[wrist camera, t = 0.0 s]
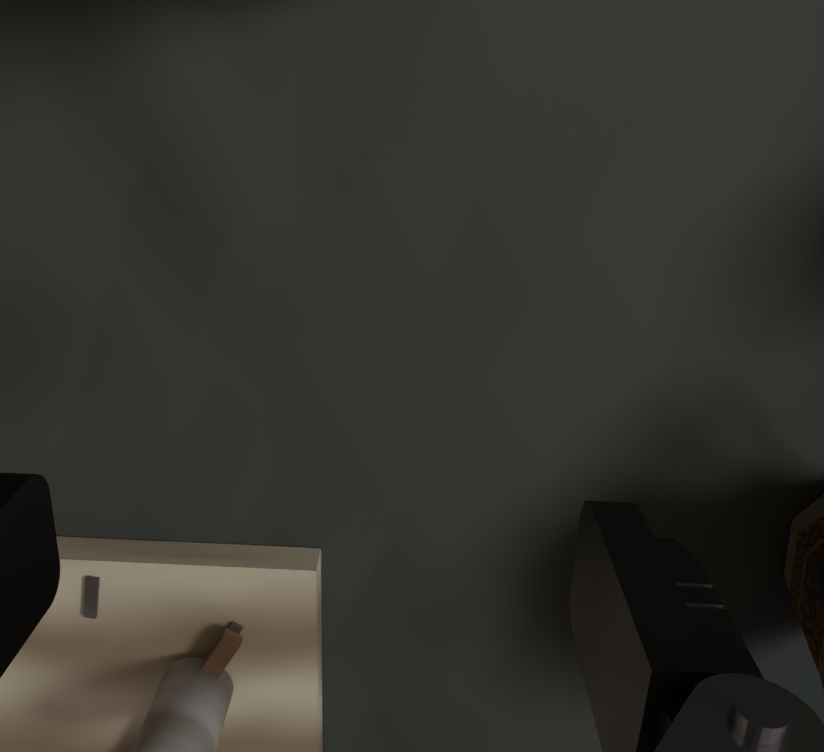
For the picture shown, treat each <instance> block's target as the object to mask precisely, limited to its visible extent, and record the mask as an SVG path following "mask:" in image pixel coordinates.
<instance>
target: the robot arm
mask: <svg viewBox="0 0 824 752" xmlns="http://www.w3.org/2000/svg"><path fill="white" fill-rule="evenodd" d="M59 579H60V559H59V552H58V545H57V538H56V531H55V525H54V518H53V511H52V504H51V497H50V491H49V486H48V483H47V481H46V479H45V478H44V477H43V476H41V475H38V474H18V473H0V678H1V677H2V675H3V674H4V672H5V671H6V669H7V668H8V667H9V665H10V664H11V662H12V661H13V659H14V658H15V657H16V655H17V654H18V652H19V651H20V649H21V648H22V647H23V645H24V644H25V642H26V641H27V639H28V638H29V636H30V635H31V634H32V632H33V631H34V629H35V628H36V626H37V625H38V624H39V622H40V621H41V619H42V618H43V616H44V615H45V614H46V612H47V611H48V609H49V608H50V606H51V605H52V603H53V601H54V598H55V596H56V593H57V589H58V585H59ZM570 621H571V628H572V633H573V637H574V641H575V645H576V649H577V653H578V657H579V661H580V665H581V669H582V673H583V677H584V680H585V684H586V688H587V692H588V696H589V700H590V704H591V708H592V712H593V716H594V720H595V724H596V728H597V732H598V736H599V740H600V743H601V747H602V751H603V752H824V725H823V723H822V721H821V720H820V718H819V717H818V716H817V714H816V713H815V712H814V711H813V710H812V709H811V708H810V707H809V706H808V705H807V704H806V703H805V702H804V701H802V700H801V699H800V698H799V697H797V696H796V695H794V694H793V693H791V692H790V691H788V690H787V689H785V688H783V687H781V686H779V685H777V684H775V683H772V682H770V681H767V680H765V679H764V678H763V676H762V674H761V672H760V670H759V669H758V667H757V665H756V663H755V661H754V659H753V658H752V656H751V654H750V652H749V650H748V648H747V647H746V645H745V643H744V641H743V639H742V637H741V636H740V634H739V632H738V630H737V628H736V627H735V625H734V623H733V621H732V619H731V617H730V616H729V614H728V612H727V610H724V609H723V603H722V601H721V599H720V597H719V595H718V594H717V592H716V590H715V589H712V583H711V581H710V579H709V577H708V575H707V574H706V572H705V570H704V568H703V566H702V564H701V563H700V561H699V559H697V558H696V557H695V556H694V555H693V554H691V553H690V552H689V551H688V550H687V549H685V548H684V547H683V546H682V545H681V544H679V543H678V542H677V541H676V540H675V539H673V538H656V537H653V534H652V532H651V530H650V528H649V526H648V524H647V522H646V520H645V518H644V516H643V514H642V511H641V509H640V507H639V506H638V505H637V504H636V503H625V502H603V501H585V503H584V505H583V507H582V511H581V516H580V523H579V530H578V537H577V545H576V552H575V559H574V566H573V573H572V581H571V588H570Z"/></svg>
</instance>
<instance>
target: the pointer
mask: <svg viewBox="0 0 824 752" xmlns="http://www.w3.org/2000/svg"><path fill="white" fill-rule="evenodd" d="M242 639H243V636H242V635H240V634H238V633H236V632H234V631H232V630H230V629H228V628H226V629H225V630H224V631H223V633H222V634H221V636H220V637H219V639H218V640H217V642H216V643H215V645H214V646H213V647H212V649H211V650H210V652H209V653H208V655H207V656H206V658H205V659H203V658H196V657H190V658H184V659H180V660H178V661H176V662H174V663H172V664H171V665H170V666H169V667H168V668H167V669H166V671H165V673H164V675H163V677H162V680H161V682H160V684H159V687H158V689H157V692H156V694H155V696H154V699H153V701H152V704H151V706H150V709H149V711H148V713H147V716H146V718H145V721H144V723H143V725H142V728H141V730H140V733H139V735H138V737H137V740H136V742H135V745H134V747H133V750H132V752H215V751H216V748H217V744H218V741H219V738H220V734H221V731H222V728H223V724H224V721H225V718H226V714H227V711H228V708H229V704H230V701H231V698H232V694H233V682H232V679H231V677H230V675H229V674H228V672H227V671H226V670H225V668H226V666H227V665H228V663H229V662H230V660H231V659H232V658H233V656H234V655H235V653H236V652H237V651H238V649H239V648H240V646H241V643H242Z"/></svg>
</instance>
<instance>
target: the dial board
mask: <svg viewBox="0 0 824 752" xmlns="http://www.w3.org/2000/svg"><path fill="white" fill-rule="evenodd" d="M56 538H57V545H58V552H59V559H60V579H59V585H58V589H57V593H56V596H55V598H54V601H53V603H52V605H51V606H50V608H49V609H48V611H47V612H46V614H45V615H44V616H43V618H42V619H41V621H40V622H39V624H38V625H37V626H36V628H35V629H34V631H33V632H32V634H31V635H30V636H29V638H28V639H27V641H26V642H25V644H24V645H23V647H22V648H21V649H20V651H19V652H18V654H17V655H16V657H15V658H14V659H13V661H12V662H11V664H10V665H9V667H8V668H7V669H6V671H5V672H4V674H3V675H2V677H1V678H0V752H132V750H133V747H134V745H135V742H136V740H137V737H138V735H139V733H140V730H141V728H142V725H143V723H144V721H145V718H146V716H147V713H148V711H149V709H150V706H151V704H152V701H153V699H154V696H155V694H156V692H157V689H158V687H159V684H160V682H161V680H162V677H163V675H164V673H165V671H166V669H167V668H168V667H169V666H170V665H171V664H172V663H174V662H176V661H178V660H180V659H184V658H190V657H196V658H203V659H205V658H206V656H207V655H208V653H209V652H210V650H211V649H212V647H213V646H214V645H215V643H216V642H217V640H218V639H219V637H220V636H221V634H222V633H223V631H224V630H225V629H226V628H228V629H230V630H232V631H234V632H236V633H238V634H240V635H242V636H243V639H242V643H241V646H240V648H239V649H238V651H237V652H236V653H235V655H234V656H233V658H232V659H231V660H230V662H229V663H228V665H227V666H226V668H225V670H226V671H227V672H228V674H229V675H230V677H231V679H232V682H233V694H232V698H231V701H230V704H229V708H228V711H227V714H226V718H225V721H224V724H223V728H222V731H221V734H220V738H219V741H218V744H217V748H216V751H215V752H322V624H321V548H303V547H282V546H260V545H238V544H216V543H194V542H172V541H151V540H129V539H107V538H85V537H63V536H56Z"/></svg>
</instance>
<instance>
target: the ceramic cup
mask: <svg viewBox="0 0 824 752" xmlns="http://www.w3.org/2000/svg"><path fill="white" fill-rule="evenodd" d="M784 577H785V581H786V584H787V587H788V589H789V594H790V596H791V599H792V601H793V604H794V606H795V609H796V611H797V614H798V617H799V620H800V623H801V626H802V629H803V632H804V635H805V637H806V640H807V643H808V646H809V649H810V652H811V655H812V657H813V659H814V662H815V664H816V667H817V669H818V671H819V674H820V677H821V681H822V685H823V689H824V494H823V495H822V496H821V497H819V498H818V499H817V500H816V501H814V502H813V503H812V504H810V505H809V506H808V507H807V508H805V509H804V510H803V511H801V512H800V513H799V514H798V515H797V516H795V517H794V518H793V520H792V524H791V529H790V536H789V543H788V550H787V556H786V563H785V570H784Z"/></svg>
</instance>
